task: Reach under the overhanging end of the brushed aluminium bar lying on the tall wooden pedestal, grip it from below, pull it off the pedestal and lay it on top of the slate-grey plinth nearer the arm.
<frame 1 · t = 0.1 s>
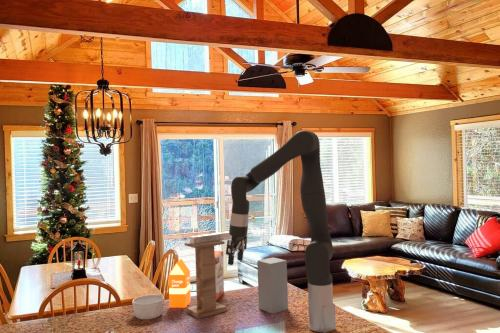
hand: (235, 262, 180), 22 cm above the countertop, tool pointing down, fingers open, 8 cm apart
plinth: (273, 308, 189), on the countertop
wooden pedestal: (206, 311, 187), on the countertop
ramekin: (148, 315, 186), on the countertop
cracker box: (215, 297, 209), on the countertop
orange juice: (180, 304, 199), on the countertop
bar: (214, 240, 190), point 30 cm above the countertop, touching wooden pedestal
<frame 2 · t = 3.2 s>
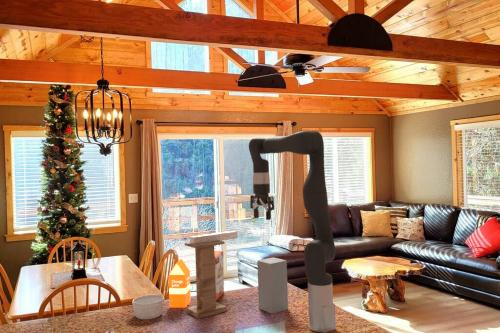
hand: (262, 219, 194), 38 cm above the countertop, tool pointing down, fingers open, 8 cm apart
nothing on the countertop moved.
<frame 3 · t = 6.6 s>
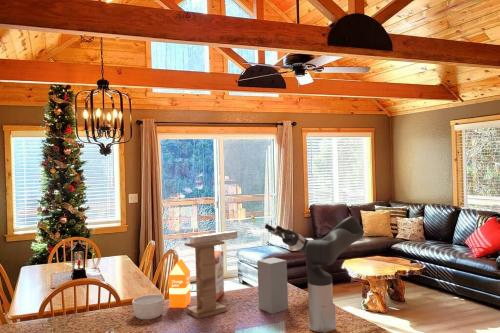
hand: (271, 226, 209), 33 cm above the countertop, tool pointing upward, fingers open, 8 cm apart
nothing on the countertop moved.
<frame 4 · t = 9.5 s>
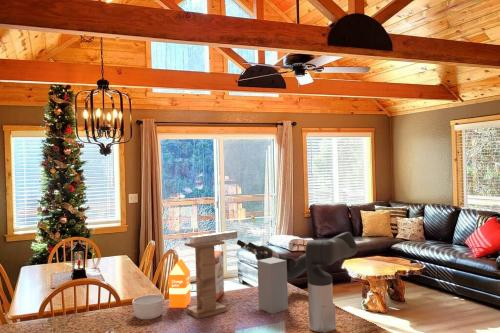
hand: (242, 242, 200), 27 cm above the countertop, tool pointing upward, fingers open, 8 cm apart
nothing on the countertop moved.
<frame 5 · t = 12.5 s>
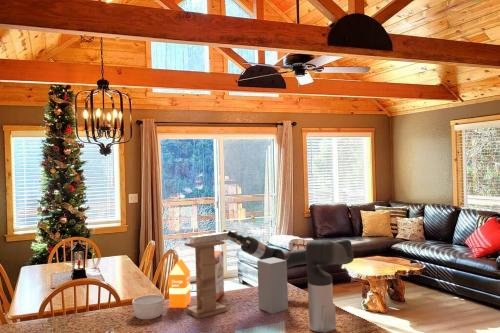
hand: (225, 232, 194), 33 cm above the countertop, tool pointing upward, fingers closed on bar, 3 cm apart
bar: (214, 240, 190), point 30 cm above the countertop, touching gripper, wooden pedestal
everything else where it was.
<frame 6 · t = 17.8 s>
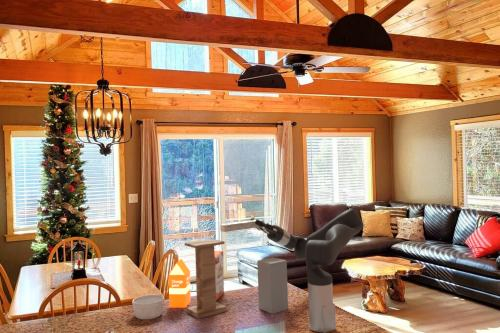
hand: (253, 220, 202), 37 cm above the countertop, tool pointing upward, fingers closed on bar, 3 cm apart
bar: (243, 228, 198), point 34 cm above the countertop, touching gripper
everything else where it was.
when the fingers open (25 cm above the countertop, at t = 22.9 s): bar drops 1 cm, resting on plinth.
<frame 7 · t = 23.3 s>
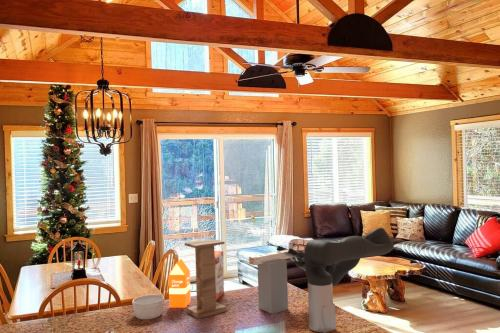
hand: (283, 248, 192), 25 cm above the countertop, tool pointing upward, fingers open, 7 cm apart
bar: (272, 260, 189), point 21 cm above the countertop, touching plinth
everything else where it was.
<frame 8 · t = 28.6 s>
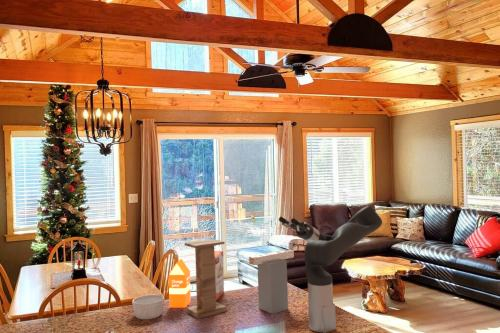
hand: (285, 219, 203), 37 cm above the countertop, tool pointing upward, fingers open, 8 cm apart
nothing on the countertop moved.
at the end: bar inside the target area on the plinth (0.1 cm from its centre), point 21.0 cm above the plinth's base; bar tilted 0°; the gripper is holding nothing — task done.
